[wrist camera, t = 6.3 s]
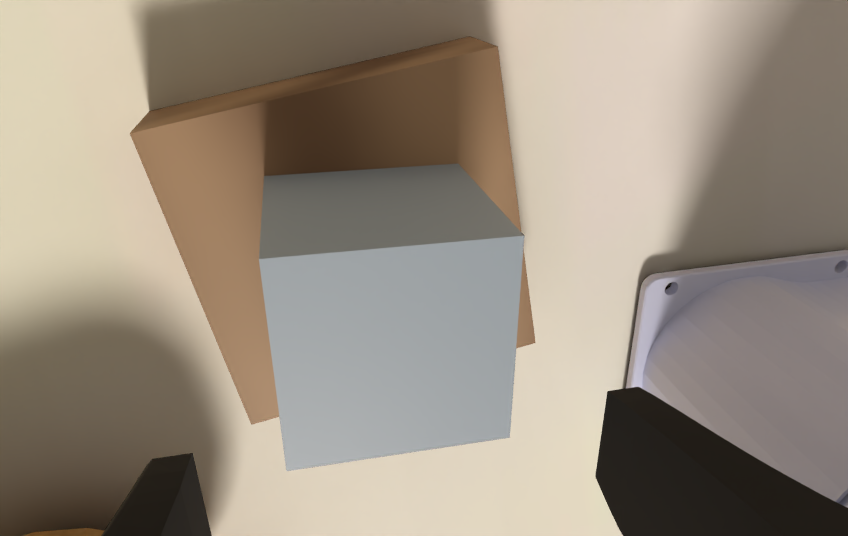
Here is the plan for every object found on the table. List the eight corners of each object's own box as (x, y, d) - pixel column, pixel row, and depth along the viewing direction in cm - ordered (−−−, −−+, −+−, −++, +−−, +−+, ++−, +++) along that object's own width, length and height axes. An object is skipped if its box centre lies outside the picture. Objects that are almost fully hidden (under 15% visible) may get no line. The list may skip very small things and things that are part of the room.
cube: (458, 163, 16) (524, 235, 12) (454, 326, 19) (509, 437, 14) (263, 176, 16) (259, 259, 11) (284, 345, 18) (286, 471, 13)
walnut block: (465, 34, 18) (497, 46, 15) (504, 298, 22) (535, 342, 20) (152, 107, 17) (129, 133, 15) (254, 367, 21) (251, 424, 19)
